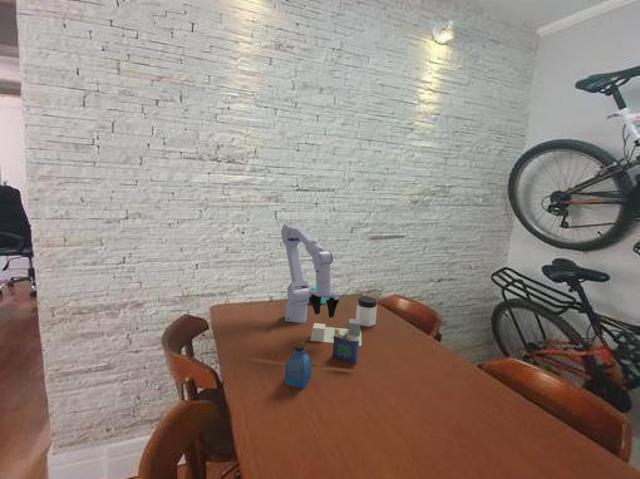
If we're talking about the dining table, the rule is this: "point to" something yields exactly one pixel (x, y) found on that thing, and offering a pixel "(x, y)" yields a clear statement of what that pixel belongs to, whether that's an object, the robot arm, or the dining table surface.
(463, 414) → the dining table surface
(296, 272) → the robot arm
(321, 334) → the cream colored cube
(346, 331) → the board
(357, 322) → the grey sharp-edged cube
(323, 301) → the decorative dice
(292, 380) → the perfume bottle
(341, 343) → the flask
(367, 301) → the jar
